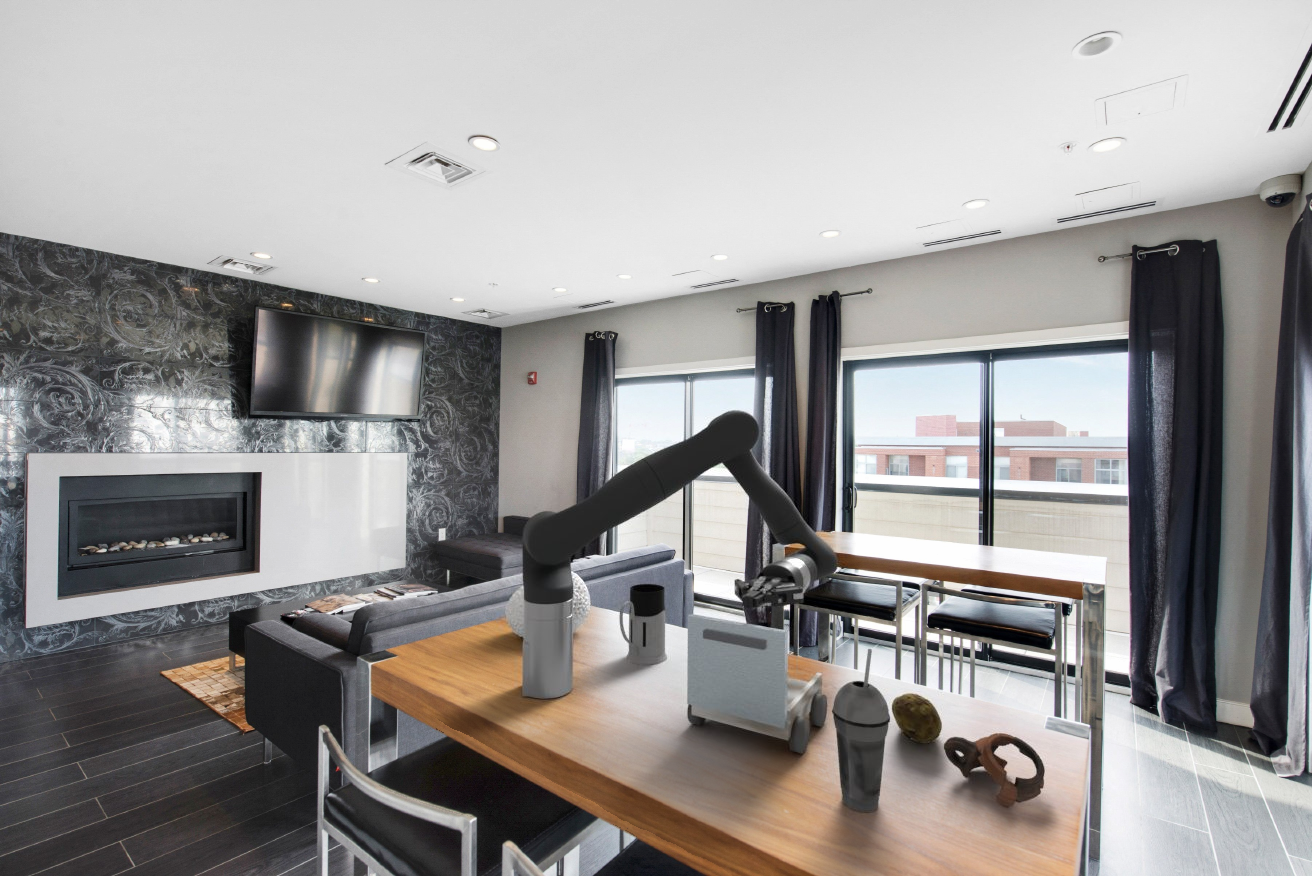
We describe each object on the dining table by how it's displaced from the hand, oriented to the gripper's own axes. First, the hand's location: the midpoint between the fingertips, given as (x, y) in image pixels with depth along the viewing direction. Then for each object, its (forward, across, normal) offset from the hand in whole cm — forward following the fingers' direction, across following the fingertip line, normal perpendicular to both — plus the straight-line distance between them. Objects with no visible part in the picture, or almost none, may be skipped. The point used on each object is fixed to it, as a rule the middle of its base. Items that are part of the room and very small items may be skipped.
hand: (748, 603), depth 98 cm
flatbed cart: (-5, 0, +21) cm, 22 cm away
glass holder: (-18, -32, +21) cm, 43 cm away
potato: (-13, +23, +22) cm, 34 cm away
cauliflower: (-21, -59, +21) cm, 66 cm away
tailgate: (+4, 0, +16) cm, 17 cm away
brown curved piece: (-4, +34, +22) cm, 41 cm away
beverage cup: (+9, +19, +22) cm, 30 cm away
